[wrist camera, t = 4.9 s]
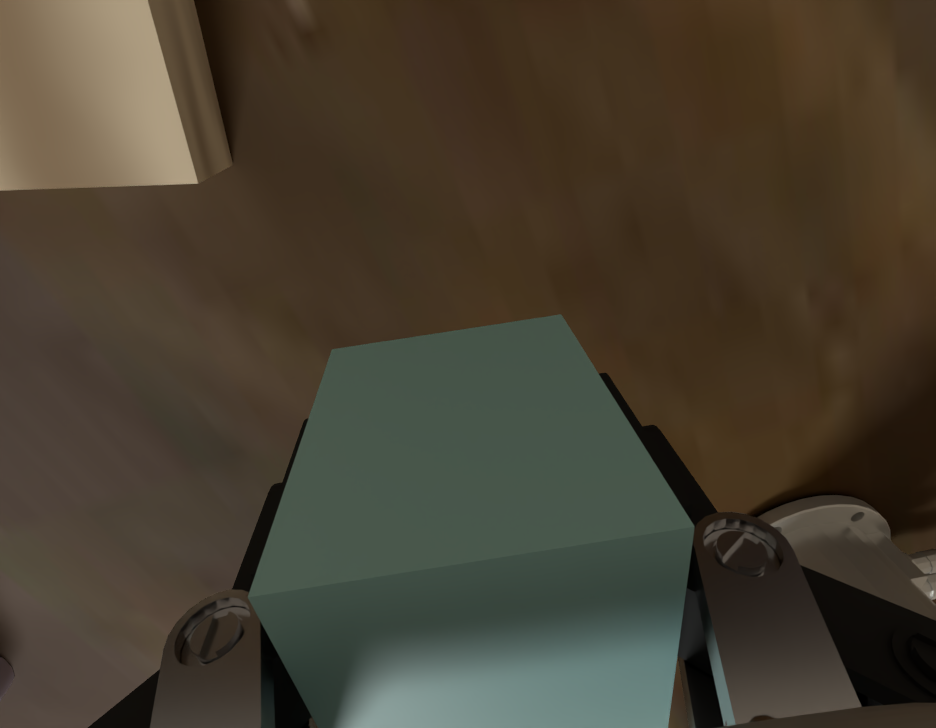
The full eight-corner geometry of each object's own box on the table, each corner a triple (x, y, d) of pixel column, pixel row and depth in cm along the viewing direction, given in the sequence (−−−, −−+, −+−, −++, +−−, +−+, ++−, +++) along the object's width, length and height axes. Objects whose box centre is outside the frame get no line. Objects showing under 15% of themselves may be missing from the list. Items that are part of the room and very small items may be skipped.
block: (561, 314, 11) (694, 526, 6) (567, 486, 13) (664, 746, 8) (331, 349, 11) (247, 597, 5) (381, 515, 13) (355, 797, 8)
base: (169, -116, 15) (99, -172, 12) (235, 163, 19) (198, 183, 16) (-119, -121, 14) (-281, -180, 11) (13, 170, 19) (-76, 193, 15)
